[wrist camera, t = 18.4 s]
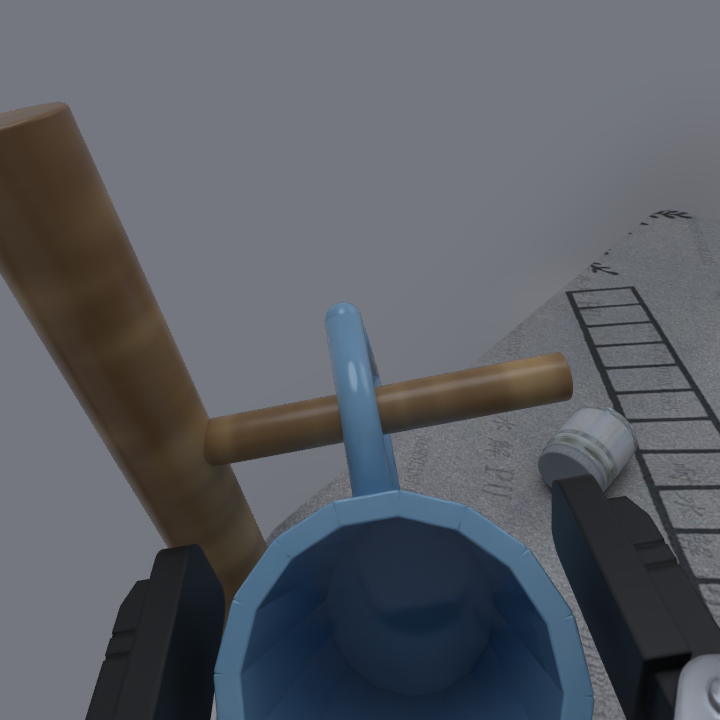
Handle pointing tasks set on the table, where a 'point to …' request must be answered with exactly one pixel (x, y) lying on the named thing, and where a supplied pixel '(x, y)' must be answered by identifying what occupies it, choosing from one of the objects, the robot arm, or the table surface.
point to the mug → (396, 599)
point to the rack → (179, 355)
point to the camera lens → (589, 446)
